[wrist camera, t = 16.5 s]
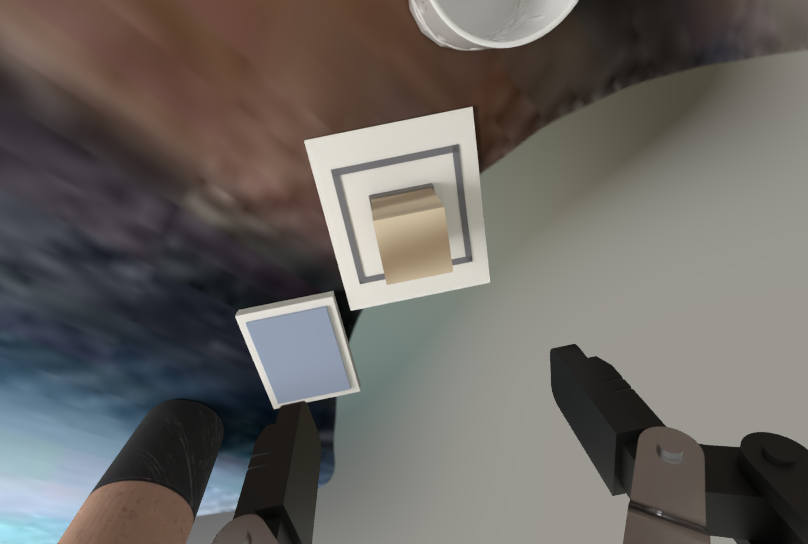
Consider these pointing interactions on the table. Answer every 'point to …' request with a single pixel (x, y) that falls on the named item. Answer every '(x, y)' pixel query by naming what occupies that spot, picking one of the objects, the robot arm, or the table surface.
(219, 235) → the table surface
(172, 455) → the travel mug
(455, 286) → the sheet
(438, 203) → the stamp
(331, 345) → the ink pad
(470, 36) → the white cup
